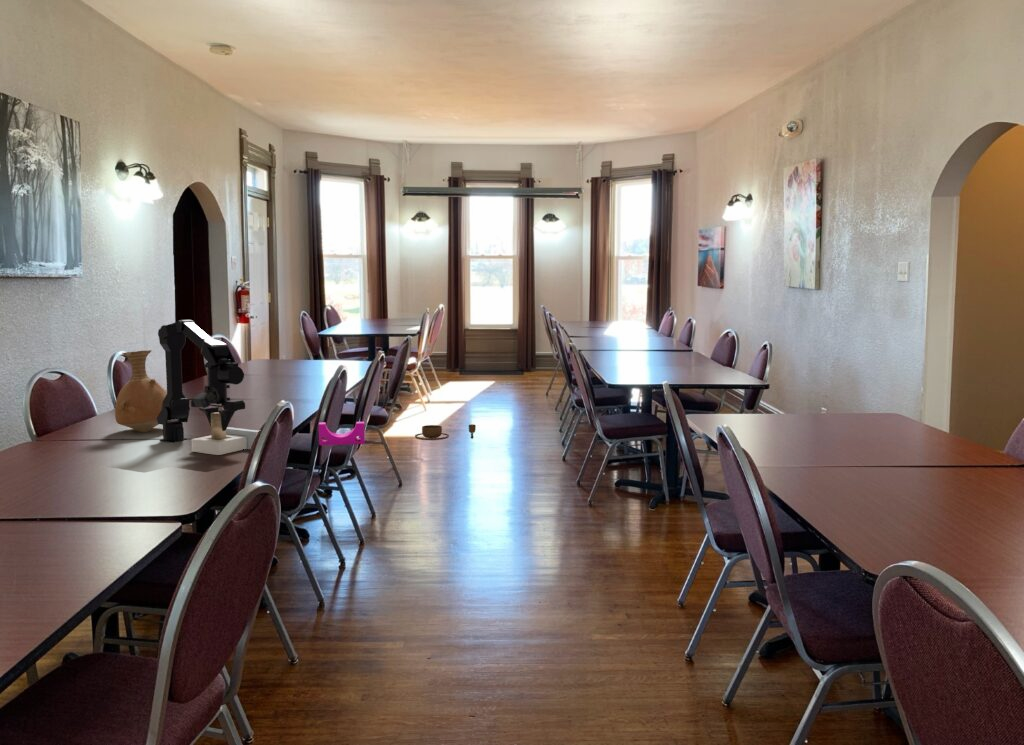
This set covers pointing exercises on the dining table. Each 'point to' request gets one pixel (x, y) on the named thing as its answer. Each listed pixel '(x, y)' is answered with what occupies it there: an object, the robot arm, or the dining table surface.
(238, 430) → the board
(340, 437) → the toy block
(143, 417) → the jug
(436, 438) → the place setting
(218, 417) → the dowel
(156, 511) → the dining table surface
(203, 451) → the socket block
